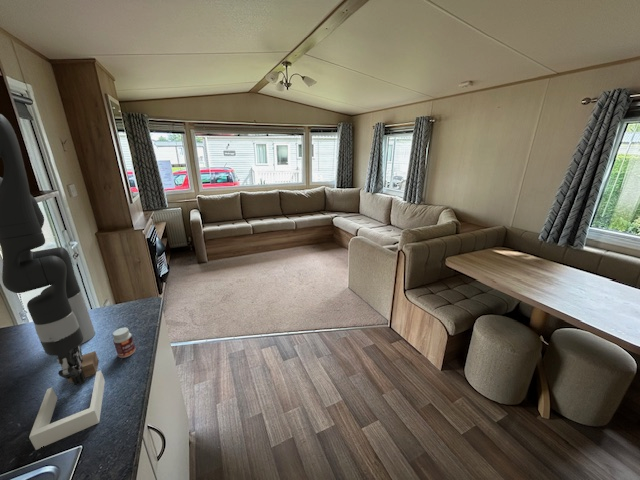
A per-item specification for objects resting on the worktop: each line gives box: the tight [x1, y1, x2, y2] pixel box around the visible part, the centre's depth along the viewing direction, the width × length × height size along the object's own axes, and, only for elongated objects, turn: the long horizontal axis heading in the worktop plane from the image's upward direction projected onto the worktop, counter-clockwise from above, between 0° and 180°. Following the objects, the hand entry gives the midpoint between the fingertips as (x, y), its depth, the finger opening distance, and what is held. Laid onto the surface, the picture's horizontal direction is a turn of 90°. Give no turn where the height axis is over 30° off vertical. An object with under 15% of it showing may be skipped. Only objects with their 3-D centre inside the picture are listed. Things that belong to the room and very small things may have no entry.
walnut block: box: [67, 351, 100, 384], centre depth 78 cm, size 6×6×4 cm
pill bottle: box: [112, 327, 136, 359], centre depth 84 cm, size 5×5×8 cm
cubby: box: [29, 369, 106, 451], centre depth 66 cm, size 14×11×4 cm
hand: (80, 382), depth 74 cm, fingers closed
